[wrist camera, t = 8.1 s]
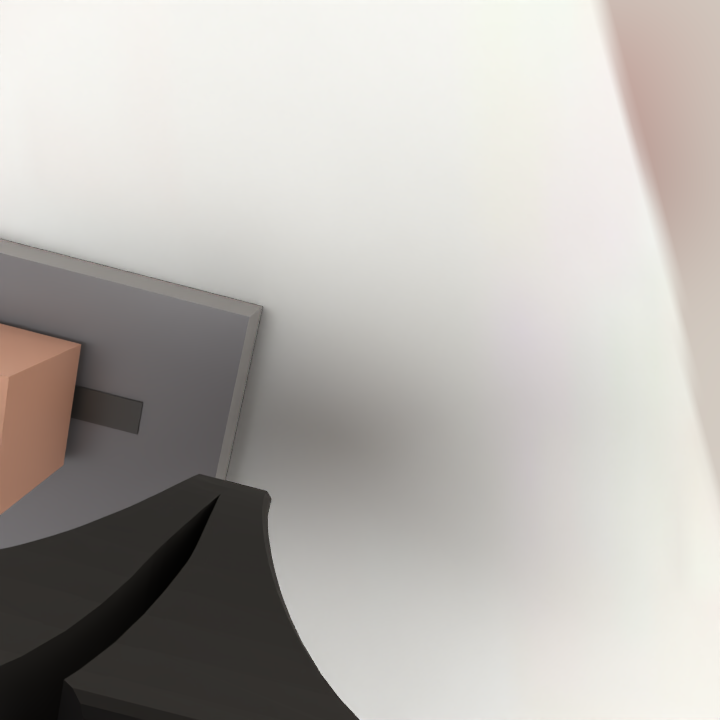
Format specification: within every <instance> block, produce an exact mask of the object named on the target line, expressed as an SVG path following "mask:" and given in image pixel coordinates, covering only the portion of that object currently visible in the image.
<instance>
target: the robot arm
mask: <svg viewBox="0 0 720 720" xmlns="http://www.w3.org/2000/svg"><path fill="white" fill-rule="evenodd" d="M270 503H271V497H270V495H269V494H268V492H267V491H265V490H261V489H257V488H253V487H249V486H245V485H241V484H237V483H233V482H230V481H226V480H222V479H218V478H214V477H210V476H206V475H202V474H198V475H195V476H193V477H191V478H188V479H186V480H184V481H182V482H180V483H178V484H176V485H174V486H172V487H170V488H168V489H166V490H164V491H162V492H160V493H158V494H156V495H154V496H151V497H149V498H147V499H145V500H143V501H141V502H139V503H136V504H134V505H132V506H130V507H128V508H125V509H123V510H120V511H118V512H115V513H113V514H110V515H108V516H105V517H103V518H100V519H98V520H95V521H93V522H90V523H88V524H85V525H83V526H80V527H77V528H74V529H71V530H68V531H65V532H62V533H59V534H56V535H53V536H49V537H46V538H42V539H39V540H35V541H32V542H28V543H25V544H21V545H17V546H13V547H8V548H3V549H0V720H359V719H358V718H357V717H356V716H355V714H354V713H353V712H352V711H351V710H350V709H349V708H348V707H347V706H346V705H345V704H344V703H343V702H342V700H341V699H340V698H339V697H338V696H337V695H336V693H335V692H334V691H333V689H332V688H331V687H330V685H329V684H328V683H327V681H326V680H325V679H324V677H323V676H322V675H321V673H320V671H319V670H318V668H317V666H316V665H315V663H314V661H313V660H312V658H311V656H310V655H309V653H308V651H307V650H306V648H305V646H304V645H303V643H302V641H301V639H300V637H299V635H298V633H297V631H296V629H295V626H294V624H293V622H292V620H291V618H290V615H289V613H288V610H287V608H286V605H285V603H284V600H283V597H282V594H281V591H280V588H279V584H278V581H277V577H276V573H275V569H274V565H273V560H272V556H271V549H270V543H269V536H268V512H269V507H270Z"/></svg>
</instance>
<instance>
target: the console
mask: <svg viewBox="0 0 720 720" xmlns="http://www.w3.org/2000/svg"><path fill="white" fill-rule="evenodd" d="M262 308H263V306H259V305H255V304H251V303H247V302H244V301H240V300H236V299H232V298H228V297H224V296H220V295H216V294H212V293H209V292H205V291H201V290H197V289H193V288H189V287H185V286H181V285H178V284H174V283H170V282H166V281H162V280H158V279H154V278H150V277H146V276H143V275H139V274H135V273H131V272H127V271H123V270H119V269H115V268H111V267H108V266H104V265H100V264H96V263H92V262H88V261H84V260H80V259H76V258H73V257H69V256H65V255H61V254H57V253H53V252H49V251H45V250H41V249H38V248H34V247H30V246H26V245H22V244H18V243H14V242H10V241H7V240H3V239H0V324H4V325H8V326H12V327H16V328H20V329H24V330H28V331H32V332H35V333H39V334H43V335H47V336H51V337H55V338H59V339H63V340H67V341H71V342H74V343H78V344H81V350H80V356H79V363H78V370H77V377H76V383H75V390H74V397H73V404H72V410H71V417H70V424H69V431H68V438H67V444H66V451H65V458H64V465H63V466H62V467H60V468H59V469H58V470H56V471H55V472H54V473H53V474H51V475H50V476H49V477H48V478H46V479H45V480H44V481H43V482H41V483H40V484H39V485H37V486H36V487H35V488H34V489H32V490H31V491H30V492H29V493H27V494H26V495H25V496H24V497H22V498H21V499H20V500H18V501H17V502H16V503H15V504H13V505H12V506H11V507H10V508H8V509H7V510H6V511H5V512H3V513H2V514H1V515H0V549H3V548H8V547H13V546H17V545H21V544H25V543H28V542H32V541H35V540H39V539H42V538H46V537H49V536H53V535H56V534H59V533H62V532H65V531H68V530H71V529H74V528H77V527H80V526H83V525H85V524H88V523H90V522H93V521H95V520H98V519H100V518H103V517H105V516H108V515H110V514H113V513H115V512H118V511H120V510H123V509H125V508H128V507H130V506H132V505H134V504H136V503H139V502H141V501H143V500H145V499H147V498H149V497H151V496H154V495H156V494H158V493H160V492H162V491H164V490H166V489H168V488H170V487H172V486H174V485H176V484H178V483H180V482H182V481H184V480H186V479H188V478H191V477H193V476H195V475H198V474H202V475H206V476H210V477H214V478H218V479H222V480H225V479H226V475H227V470H228V465H229V461H230V456H231V451H232V447H233V442H234V438H235V433H236V428H237V424H238V419H239V414H240V410H241V405H242V400H243V396H244V391H245V387H246V382H247V377H248V373H249V368H250V363H251V359H252V354H253V349H254V345H255V340H256V336H257V331H258V326H259V322H260V317H261V312H262Z"/></svg>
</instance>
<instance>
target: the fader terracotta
mask: <svg viewBox="0 0 720 720" xmlns="http://www.w3.org/2000/svg"><path fill="white" fill-rule="evenodd" d="M80 350H81V344H78V343H74V342H71V341H67V340H63V339H59V338H55V337H51V336H47V335H43V334H39V333H35V332H32V331H28V330H24V329H20V328H16V327H12V326H8V325H4V324H0V515H1V514H2V513H3V512H5V511H6V510H7V509H8V508H10V507H11V506H12V505H13V504H15V503H16V502H17V501H18V500H20V499H21V498H22V497H24V496H25V495H26V494H27V493H29V492H30V491H31V490H32V489H34V488H35V487H36V486H37V485H39V484H40V483H41V482H43V481H44V480H45V479H46V478H48V477H49V476H50V475H51V474H53V473H54V472H55V471H56V470H58V469H59V468H60V467H62V466H63V465H64V458H65V451H66V444H67V438H68V431H69V424H70V417H71V410H72V404H73V397H74V390H75V383H76V377H77V370H78V363H79V356H80Z"/></svg>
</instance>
